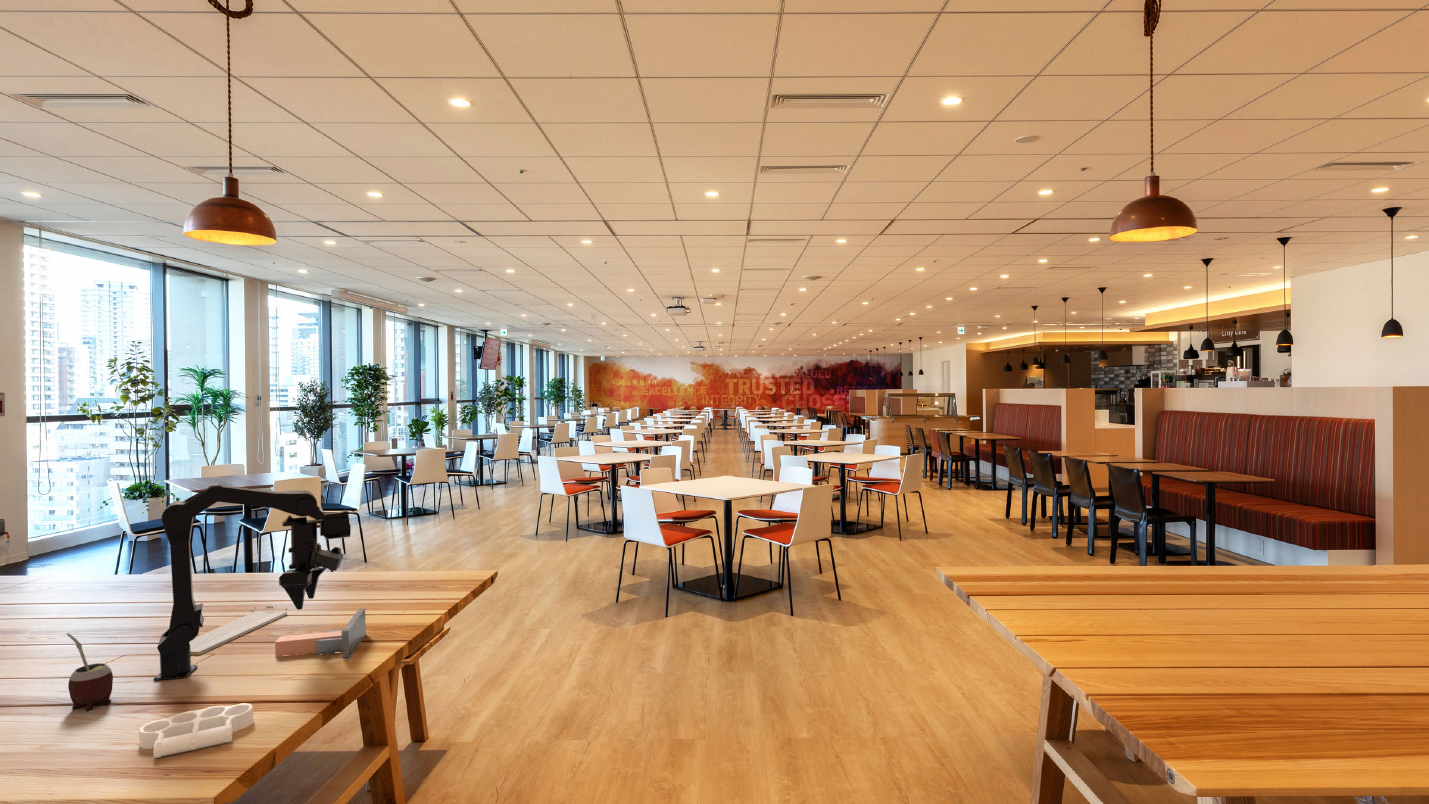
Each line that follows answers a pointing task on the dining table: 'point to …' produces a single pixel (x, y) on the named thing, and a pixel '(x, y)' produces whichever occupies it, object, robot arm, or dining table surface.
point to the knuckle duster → (195, 729)
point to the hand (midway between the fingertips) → (305, 603)
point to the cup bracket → (345, 637)
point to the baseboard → (232, 630)
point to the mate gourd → (90, 683)
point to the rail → (302, 643)
